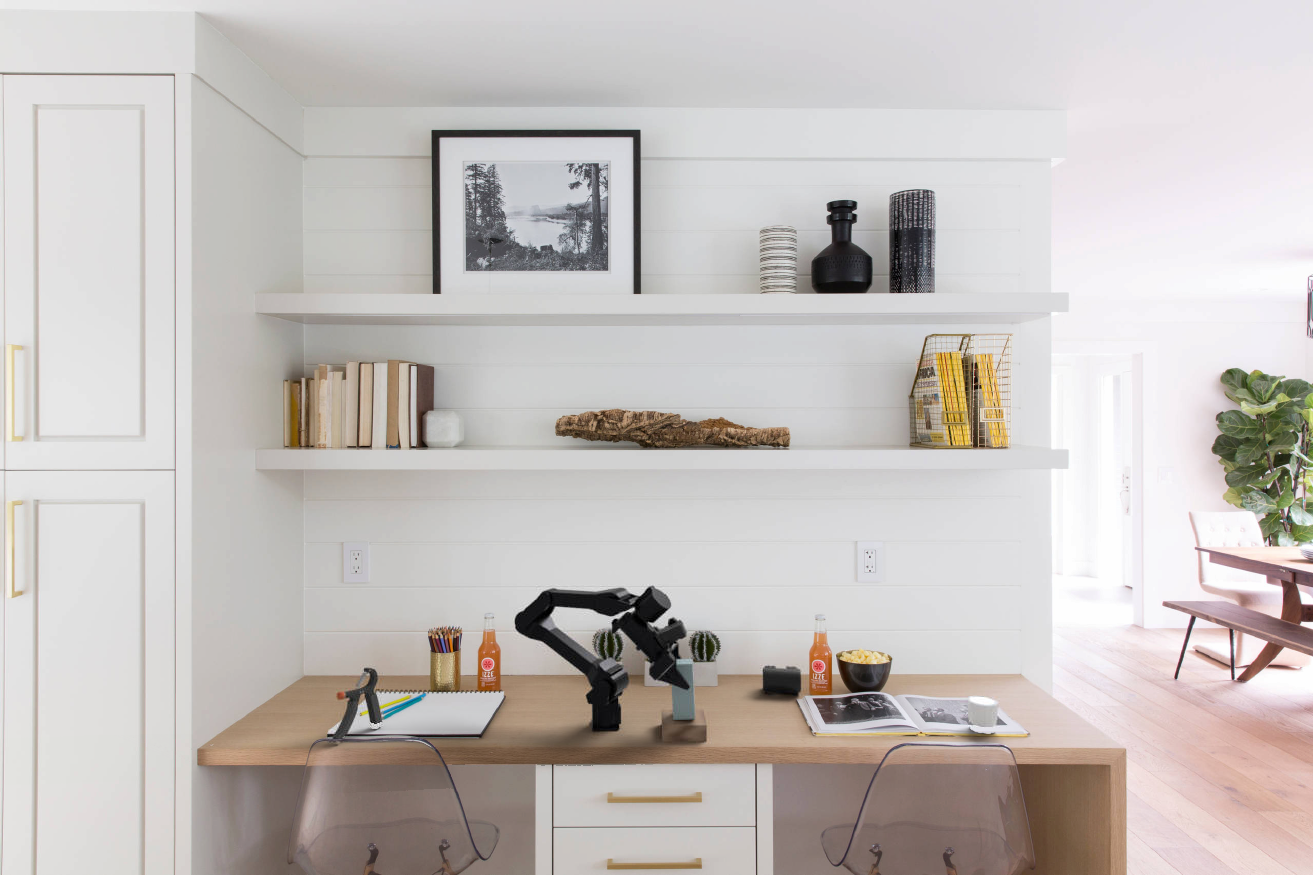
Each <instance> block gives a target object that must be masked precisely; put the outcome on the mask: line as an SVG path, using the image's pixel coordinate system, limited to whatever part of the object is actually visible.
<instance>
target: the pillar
mask: <svg viewBox="0 0 1313 875" xmlns="http://www.w3.org/2000/svg"><path fill="white" fill-rule="evenodd" d="M677 669H678V670H679V671H680V673H681V674H682V676H683V677H684V678H685V680H686V681H687V683H688V684H689V686H690V688H689V689H688V690H685V689H682V688H680V687H677V686H674V685H672V684H671V699H672V702H671V703H672V709H673V720H686V719H695V709H696V702H695V701H696V699H695V681H694V680H695V678H694V677H695V676H694V660H693V658H682V659H677Z"/></svg>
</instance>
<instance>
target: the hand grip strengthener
mask: <svg viewBox="0 0 1313 875" xmlns="http://www.w3.org/2000/svg"><path fill="white" fill-rule="evenodd" d="M367 674H369V679H368V682H367V683H366V684H365V685H364V686H362V684H363V682H364V681H365V679H366V677H367ZM378 681H379V675H378V672H377V670H376V669H375V668H372V667H364V668H363V672H362V674H361V675H360V677H359V679H358V681H357V682H356V684H355V689H352V690H347V691H339V692H337V693H336V698H337V700H338V701H339V700H340V701H342V700H345V699H348V700H347V705H346V710H345V713H344V715H343V717H342V719H341V721H340V723H339V725H338V727H337V729H336V731H335V732H334V733H333V735H332V737H331V738H332V739H343V737H344V736H345V735H346V734H347V735H348V733H349V732H350V730H351V727H352V725H353V723H354V721H355V718H356V716H357V713H358V710H359V702H360V698H361V695H363V694H364V699H365V703H366V708H367V713H368V718H369V723H370V722H371V723H374V724H377V723H380V722H382V723H383V718H382V711H381V706H380V702H379V697H378V694H377V693H376V692H375V688H376V685H377V683H378ZM361 686H362V687H361ZM347 735H346V736H347ZM343 740H344V739H343Z"/></svg>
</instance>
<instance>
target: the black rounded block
mask: <svg viewBox="0 0 1313 875" xmlns="http://www.w3.org/2000/svg"><path fill="white" fill-rule="evenodd" d="M762 691H763V693H765V694H778V695H779V694H780V695H781V694H783V695H799V694H800V693H801V692H802V672H801V669H800V668H798V667H797V666H794V665H793V666H789V665H787V666H786V667H785V668H783V667H782V668H780V667H779V668H778V667H776V665H765V666H764V667H763V668H762Z"/></svg>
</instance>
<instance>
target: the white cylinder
mask: <svg viewBox="0 0 1313 875" xmlns="http://www.w3.org/2000/svg"><path fill="white" fill-rule="evenodd" d="M966 704H967V715H968V723H969V722H971V723H972V724H974V725H977V726H980V727H993V726H995V725H996V726H997V720H998V719H997V718H998V709H999V701H998V700H996V699H995V698H993V697H989V696H985V695H971V696H967V697H966Z"/></svg>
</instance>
